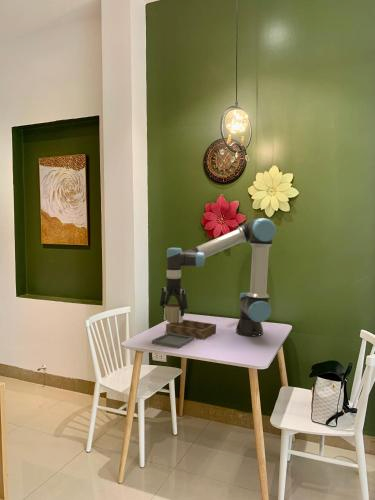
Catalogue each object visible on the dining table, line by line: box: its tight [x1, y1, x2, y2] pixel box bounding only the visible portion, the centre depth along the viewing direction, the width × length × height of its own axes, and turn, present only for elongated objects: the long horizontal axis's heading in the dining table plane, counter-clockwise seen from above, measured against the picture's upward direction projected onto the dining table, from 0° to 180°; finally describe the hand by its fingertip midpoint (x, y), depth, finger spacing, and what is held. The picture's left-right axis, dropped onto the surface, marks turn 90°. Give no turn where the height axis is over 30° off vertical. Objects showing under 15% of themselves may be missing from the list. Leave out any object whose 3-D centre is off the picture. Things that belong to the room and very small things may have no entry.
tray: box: [151, 333, 195, 349], centre depth 202 cm, size 16×16×2 cm
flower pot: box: [164, 303, 180, 323], centre depth 201 cm, size 9×9×9 cm
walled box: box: [165, 318, 217, 341], centre depth 218 cm, size 24×15×5 cm, turn 60°
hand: (173, 320), depth 201 cm, fingers closed on flower pot, 8 cm apart
